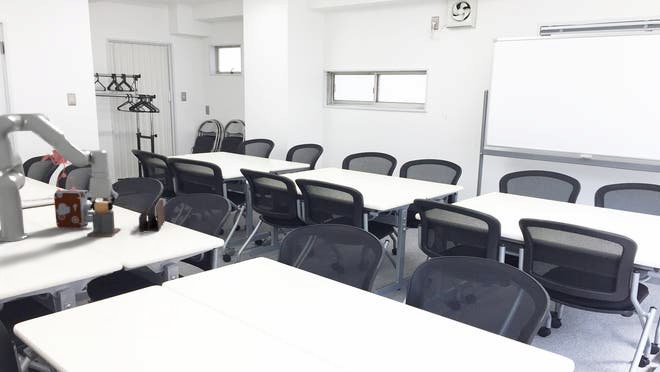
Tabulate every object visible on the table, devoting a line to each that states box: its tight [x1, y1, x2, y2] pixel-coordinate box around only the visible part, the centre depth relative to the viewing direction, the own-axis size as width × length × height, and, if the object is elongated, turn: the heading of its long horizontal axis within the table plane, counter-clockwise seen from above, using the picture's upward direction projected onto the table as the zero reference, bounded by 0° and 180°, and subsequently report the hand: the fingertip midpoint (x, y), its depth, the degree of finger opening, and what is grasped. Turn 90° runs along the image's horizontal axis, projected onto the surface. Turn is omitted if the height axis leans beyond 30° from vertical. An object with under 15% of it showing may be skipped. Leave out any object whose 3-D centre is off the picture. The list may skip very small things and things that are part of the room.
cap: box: [94, 200, 109, 214], centre depth 256 cm, size 7×7×7 cm
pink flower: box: [41, 149, 77, 198], centre depth 350 cm, size 15×26×35 cm, turn 136°
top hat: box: [86, 209, 121, 238], centre depth 257 cm, size 12×12×11 cm
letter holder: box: [138, 199, 166, 233], centre depth 271 cm, size 10×20×14 cm, turn 10°
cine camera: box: [53, 189, 93, 230], centre depth 268 cm, size 9×19×20 cm, turn 89°
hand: (102, 209), depth 256 cm, fingers closed on cap, 7 cm apart
